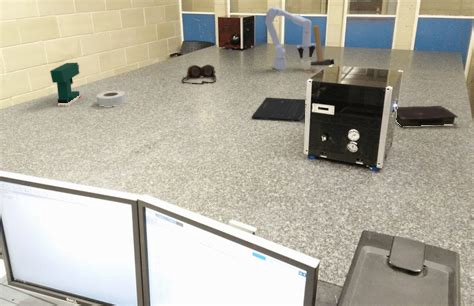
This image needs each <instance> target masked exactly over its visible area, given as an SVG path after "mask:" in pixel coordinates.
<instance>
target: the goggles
mask: <svg viewBox="0 0 474 306" xmlns="http://www.w3.org/2000/svg"><path fill="white" fill-rule="evenodd" d="M216 72H217V71H216V70H215V66H213V65H211V64H205V65H203V66H199V65H196V64H193V65H190V66H188V68H187V72H186V75H185V77H184V76H182V79H181V80H180V81H181V83H182V84H184V83H192V84H191V85H204V84H208V83H210V84H215V83H216V82H217V76H216ZM198 77H199V78H201V77H203V78H205V77H212V78H213V79H214V80H213V81H205V80H202V81H201V82H188V81H184V80H189V79H199V78H198ZM214 82H215V83H214Z"/></svg>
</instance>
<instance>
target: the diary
mask: <svg viewBox="0 0 474 306" xmlns="http://www.w3.org/2000/svg"><path fill="white" fill-rule="evenodd" d="M397 107H398V109H397V118H396V120H397V122H398V123H399V124H400V125H401V126H400V125H399V124H398V125H399V126H400V128H404V127H403V126H421V125H444V124H454V122H455V118H459V116H458V115H457V114H455V113H453V112H452V111H451V110H449V109H447V108H445V107H444V106H443V105H431V106H430V105H429V106H428V105H427V106H426V105H425V106H422V105H419V106H417V105H416V106H415V105H414V106H413V105H412V106H397ZM398 125H397V126H398ZM454 125H455V124H454ZM399 126H398V127H399Z"/></svg>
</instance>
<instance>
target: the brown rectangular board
mask: <svg viewBox="0 0 474 306" xmlns="http://www.w3.org/2000/svg"><path fill="white" fill-rule="evenodd" d="M296 70H297V71H300V72H303V73H306V74H309V75H311V74H317V72H319V71H321V70H319V69H317V68H316V66H311V67H310V69H308V70H303V69H301V67H300V68H296ZM319 73H320V72H319Z"/></svg>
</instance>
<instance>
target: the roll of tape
mask: <svg viewBox="0 0 474 306" xmlns="http://www.w3.org/2000/svg"><path fill="white" fill-rule="evenodd" d="M96 101H97V105H98V104H99V105H104V106H113V105H120V104H123V103H125V102H126V103H127V97H126V92H125V91H124V90H123V91H122V90H109V91H108V90H107V91H104V92H100V93H98V94H97V95H96ZM126 103H125V104H126ZM123 105H124V104H123Z"/></svg>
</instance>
